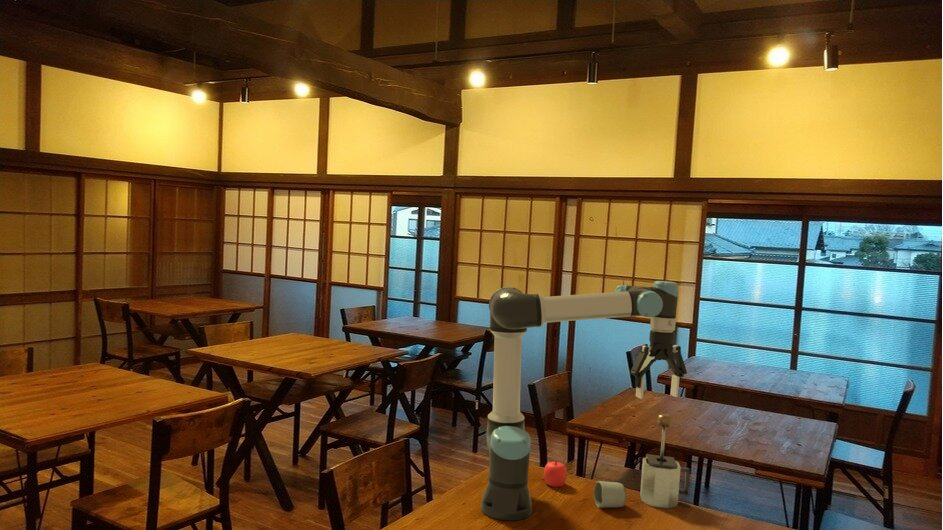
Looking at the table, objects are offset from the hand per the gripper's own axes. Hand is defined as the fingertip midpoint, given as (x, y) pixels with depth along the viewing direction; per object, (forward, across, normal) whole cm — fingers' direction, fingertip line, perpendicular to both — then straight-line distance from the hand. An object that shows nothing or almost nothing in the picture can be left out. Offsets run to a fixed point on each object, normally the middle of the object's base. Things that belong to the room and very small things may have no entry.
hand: (656, 396), depth 209 cm
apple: (+33, -24, +17) cm, 45 cm away
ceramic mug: (+33, -16, -1) cm, 37 cm away
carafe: (+33, +3, -4) cm, 33 cm away
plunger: (+23, +2, -3) cm, 23 cm away
